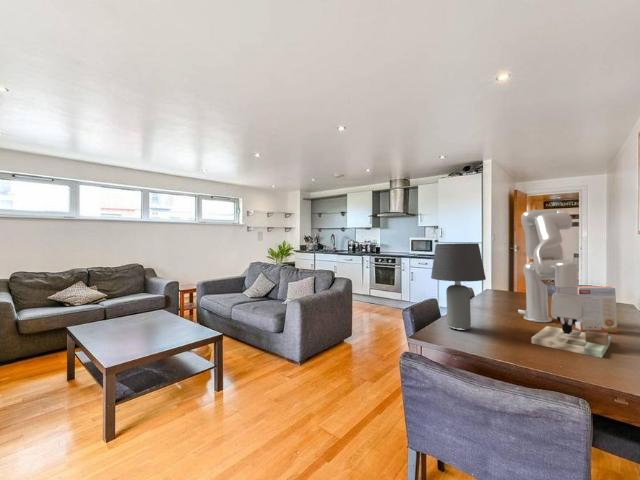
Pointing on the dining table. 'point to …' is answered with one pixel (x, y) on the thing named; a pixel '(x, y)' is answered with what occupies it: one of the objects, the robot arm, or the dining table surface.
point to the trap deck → (568, 341)
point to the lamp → (458, 278)
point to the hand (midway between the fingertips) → (567, 333)
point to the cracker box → (598, 309)
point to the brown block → (596, 337)
